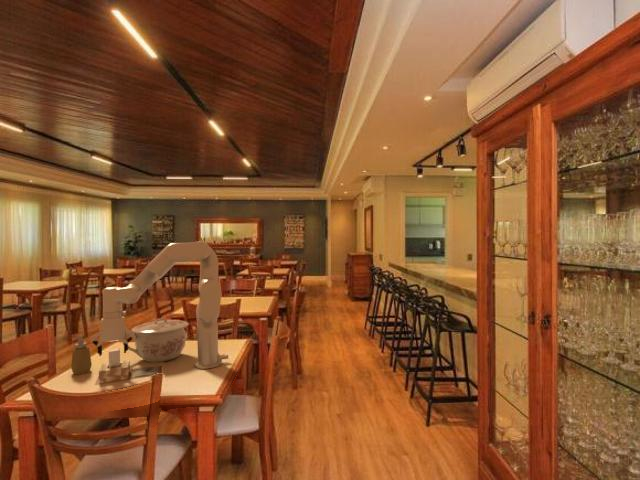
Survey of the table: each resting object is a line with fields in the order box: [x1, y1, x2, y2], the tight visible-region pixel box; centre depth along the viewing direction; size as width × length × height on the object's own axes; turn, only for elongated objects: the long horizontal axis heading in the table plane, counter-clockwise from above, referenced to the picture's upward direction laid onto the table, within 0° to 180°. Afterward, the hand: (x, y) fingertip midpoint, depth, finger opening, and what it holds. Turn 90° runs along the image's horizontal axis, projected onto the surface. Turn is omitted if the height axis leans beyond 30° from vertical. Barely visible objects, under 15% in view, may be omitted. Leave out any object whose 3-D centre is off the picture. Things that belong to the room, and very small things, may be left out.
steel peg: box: [108, 347, 121, 368], centre depth 168 cm, size 4×4×12 cm
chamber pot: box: [121, 317, 190, 363], centre depth 196 cm, size 28×28×21 cm
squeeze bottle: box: [70, 335, 93, 376], centre depth 175 cm, size 8×8×18 cm
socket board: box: [94, 359, 163, 386], centre depth 170 cm, size 26×13×6 cm, turn 113°
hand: (113, 353), depth 168 cm, fingers open, 9 cm apart
